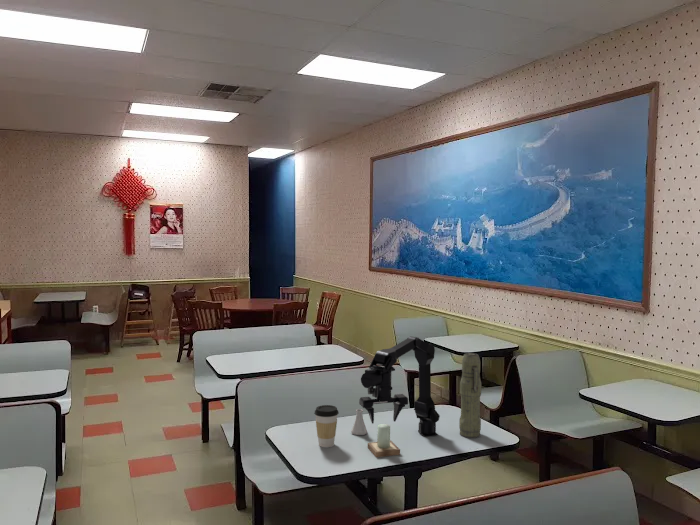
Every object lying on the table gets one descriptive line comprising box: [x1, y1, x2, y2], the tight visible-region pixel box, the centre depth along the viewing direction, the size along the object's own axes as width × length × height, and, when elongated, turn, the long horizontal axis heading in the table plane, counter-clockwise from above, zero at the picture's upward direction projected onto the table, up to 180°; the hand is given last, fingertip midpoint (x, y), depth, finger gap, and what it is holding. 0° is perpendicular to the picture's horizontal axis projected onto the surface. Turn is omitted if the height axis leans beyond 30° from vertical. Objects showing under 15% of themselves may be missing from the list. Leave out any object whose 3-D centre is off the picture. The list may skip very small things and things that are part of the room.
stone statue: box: [458, 352, 482, 439], centre depth 241 cm, size 9×12×35 cm
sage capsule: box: [376, 423, 391, 448], centre depth 223 cm, size 5×5×8 cm
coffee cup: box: [313, 404, 339, 448], centre depth 229 cm, size 10×10×15 cm
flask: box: [350, 408, 368, 436], centre depth 243 cm, size 7×7×10 cm
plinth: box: [367, 439, 401, 458], centre depth 223 cm, size 10×10×2 cm
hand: (383, 422), depth 222 cm, fingers open, 9 cm apart
